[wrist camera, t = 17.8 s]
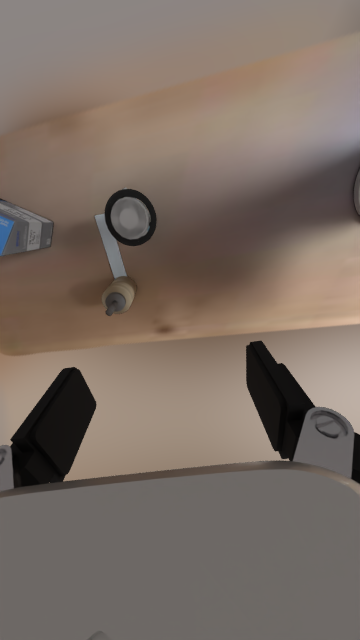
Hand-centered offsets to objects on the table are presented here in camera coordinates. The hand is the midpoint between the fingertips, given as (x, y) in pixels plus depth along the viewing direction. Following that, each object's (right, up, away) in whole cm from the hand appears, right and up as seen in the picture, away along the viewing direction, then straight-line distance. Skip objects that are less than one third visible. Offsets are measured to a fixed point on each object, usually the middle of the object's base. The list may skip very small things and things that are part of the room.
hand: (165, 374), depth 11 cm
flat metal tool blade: (-9, +12, +20) cm, 25 cm away
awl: (-8, +8, +22) cm, 25 cm away
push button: (-5, +18, +18) cm, 26 cm away
